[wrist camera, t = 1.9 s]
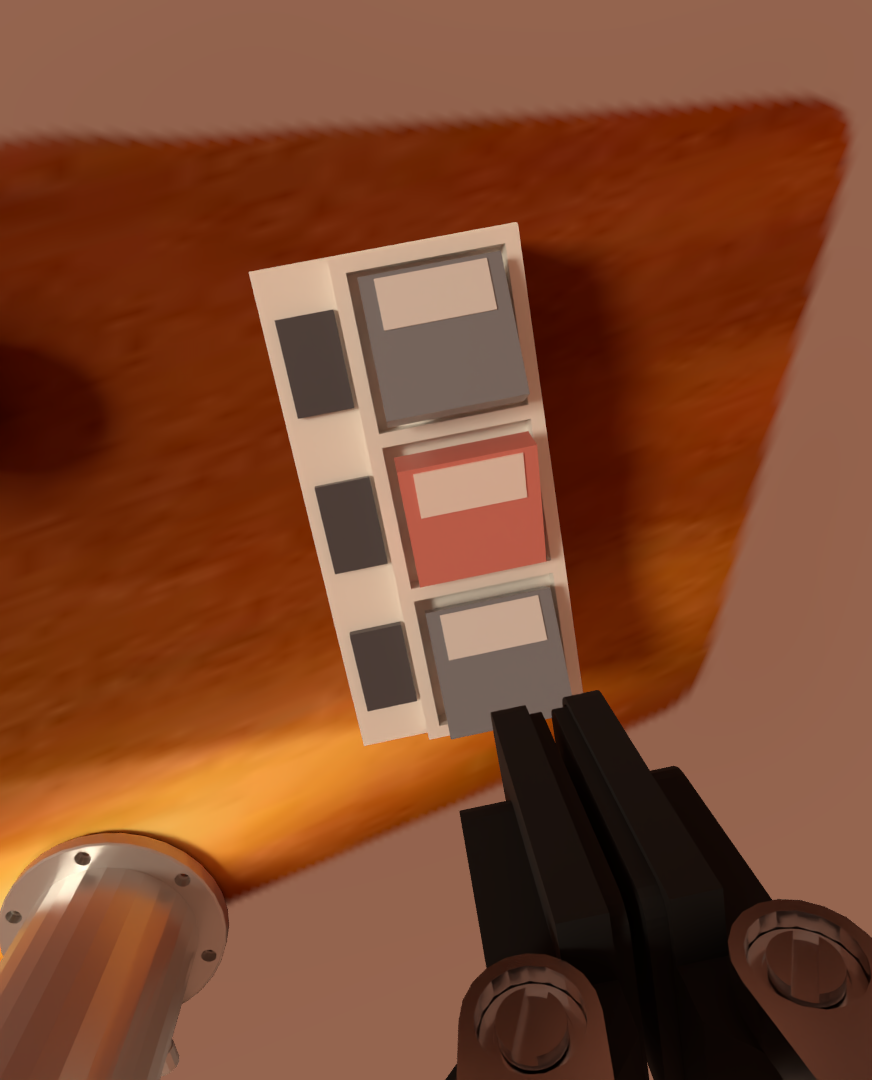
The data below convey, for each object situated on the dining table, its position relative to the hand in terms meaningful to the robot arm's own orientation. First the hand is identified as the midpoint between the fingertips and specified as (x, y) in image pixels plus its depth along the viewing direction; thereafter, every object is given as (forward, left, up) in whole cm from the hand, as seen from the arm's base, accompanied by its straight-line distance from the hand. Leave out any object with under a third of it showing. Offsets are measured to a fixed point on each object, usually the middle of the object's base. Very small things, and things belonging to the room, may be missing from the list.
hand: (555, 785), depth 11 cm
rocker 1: (+6, -1, -19) cm, 20 cm away
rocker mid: (-1, -1, -19) cm, 19 cm away
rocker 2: (-8, -1, -19) cm, 21 cm away
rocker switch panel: (-1, 0, -26) cm, 26 cm away
